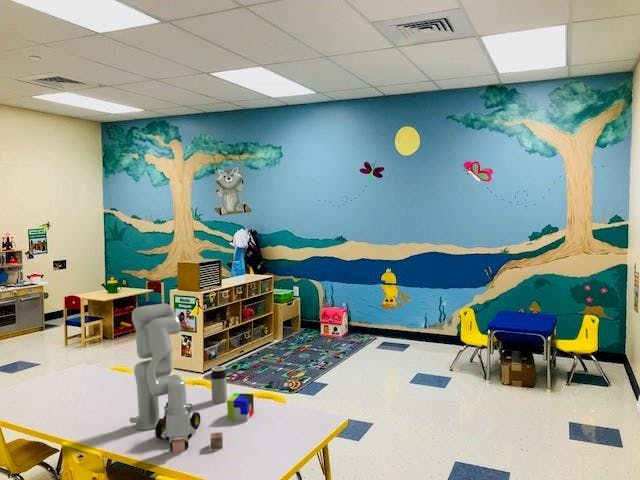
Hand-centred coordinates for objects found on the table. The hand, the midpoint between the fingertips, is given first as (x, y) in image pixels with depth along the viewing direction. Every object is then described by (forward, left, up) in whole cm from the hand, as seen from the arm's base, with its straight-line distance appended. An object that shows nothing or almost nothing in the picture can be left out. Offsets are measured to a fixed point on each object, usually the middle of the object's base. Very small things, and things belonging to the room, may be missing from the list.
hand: (179, 449), depth 227 cm
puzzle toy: (+27, +31, -1) cm, 41 cm away
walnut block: (+16, -1, 0) cm, 16 cm away
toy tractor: (-2, +18, -1) cm, 18 cm away
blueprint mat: (+15, -1, -1) cm, 15 cm away
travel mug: (+16, +55, -1) cm, 57 cm away
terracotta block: (0, 0, -1) cm, 1 cm away
